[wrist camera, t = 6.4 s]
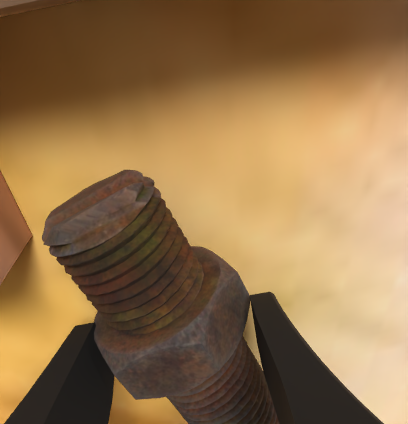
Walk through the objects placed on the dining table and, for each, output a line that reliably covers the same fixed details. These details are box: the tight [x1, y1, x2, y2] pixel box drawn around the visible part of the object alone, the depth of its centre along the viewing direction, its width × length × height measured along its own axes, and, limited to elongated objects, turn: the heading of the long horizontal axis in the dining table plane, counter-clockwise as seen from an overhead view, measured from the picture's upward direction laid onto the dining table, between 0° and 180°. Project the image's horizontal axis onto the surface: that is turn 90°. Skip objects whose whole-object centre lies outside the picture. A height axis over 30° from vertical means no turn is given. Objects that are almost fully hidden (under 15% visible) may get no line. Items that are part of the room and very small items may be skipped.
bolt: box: [42, 170, 279, 424], centre depth 13 cm, size 6×5×15 cm
